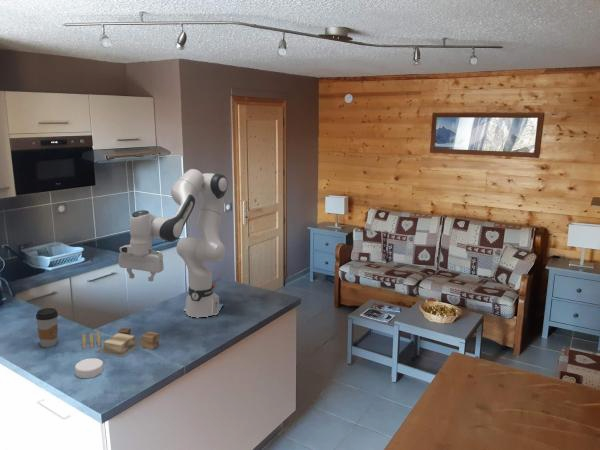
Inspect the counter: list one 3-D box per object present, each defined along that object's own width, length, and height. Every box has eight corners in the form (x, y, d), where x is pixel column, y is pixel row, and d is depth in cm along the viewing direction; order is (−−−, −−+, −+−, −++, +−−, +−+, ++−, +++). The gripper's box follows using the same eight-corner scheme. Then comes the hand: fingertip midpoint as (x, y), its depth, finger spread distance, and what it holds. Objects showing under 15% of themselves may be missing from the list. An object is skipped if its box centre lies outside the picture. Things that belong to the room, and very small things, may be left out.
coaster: (89, 381, 182) (88, 372, 181) (69, 375, 185) (68, 366, 185) (109, 369, 191) (108, 361, 190) (89, 363, 194) (89, 355, 194)
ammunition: (81, 332, 210) (81, 340, 203) (100, 330, 213) (101, 338, 206) (82, 343, 211) (82, 351, 204) (100, 340, 214) (101, 348, 207)
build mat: (121, 336, 219) (121, 334, 219) (148, 341, 216) (148, 339, 215) (94, 353, 202) (94, 352, 202) (123, 359, 199) (123, 357, 198)
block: (122, 336, 218) (121, 327, 217) (130, 336, 218) (130, 328, 217) (118, 340, 214) (118, 331, 213) (127, 340, 214) (127, 332, 213)
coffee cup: (48, 350, 203) (46, 316, 200) (33, 346, 206) (30, 312, 203) (64, 342, 211) (62, 309, 208) (49, 338, 213) (47, 306, 210)
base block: (118, 341, 213) (118, 332, 212) (134, 344, 211) (134, 335, 210) (103, 351, 203) (103, 342, 202) (120, 354, 201) (120, 345, 200)
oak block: (148, 344, 213) (148, 331, 212) (158, 346, 212) (158, 333, 210) (142, 349, 208) (141, 336, 207) (152, 351, 207) (152, 338, 206)
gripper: (166, 249, 209) (166, 280, 212) (125, 244, 215) (125, 274, 217) (158, 253, 203) (158, 284, 206) (116, 247, 209) (116, 278, 211)
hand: (141, 279), depth 212 cm, fingers open, 8 cm apart
